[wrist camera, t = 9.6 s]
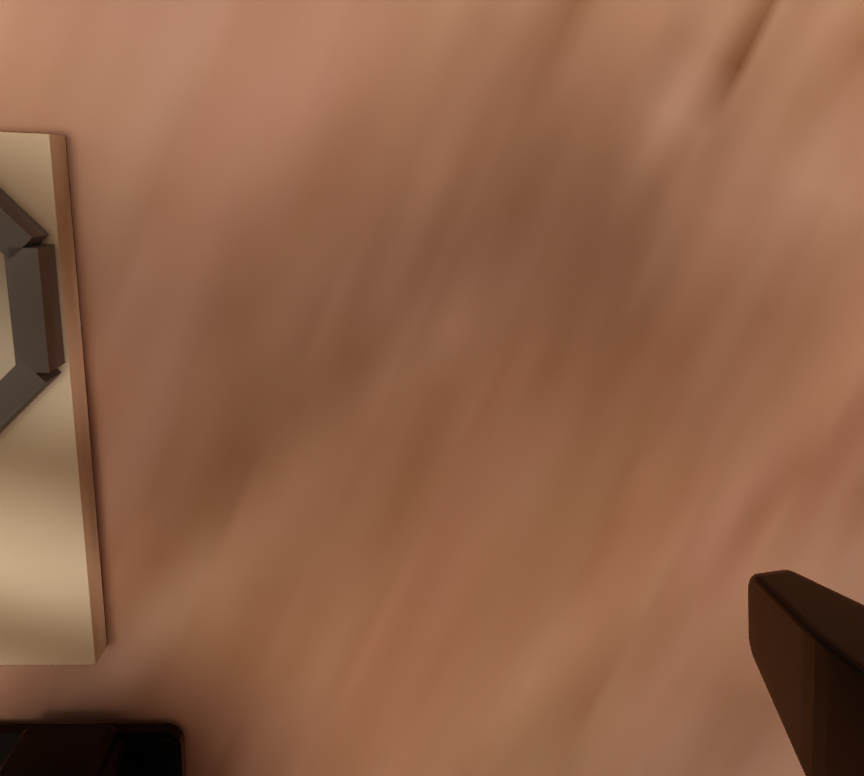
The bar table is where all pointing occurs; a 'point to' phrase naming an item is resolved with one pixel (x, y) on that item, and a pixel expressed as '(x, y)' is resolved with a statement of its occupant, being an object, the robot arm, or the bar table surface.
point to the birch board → (44, 420)
